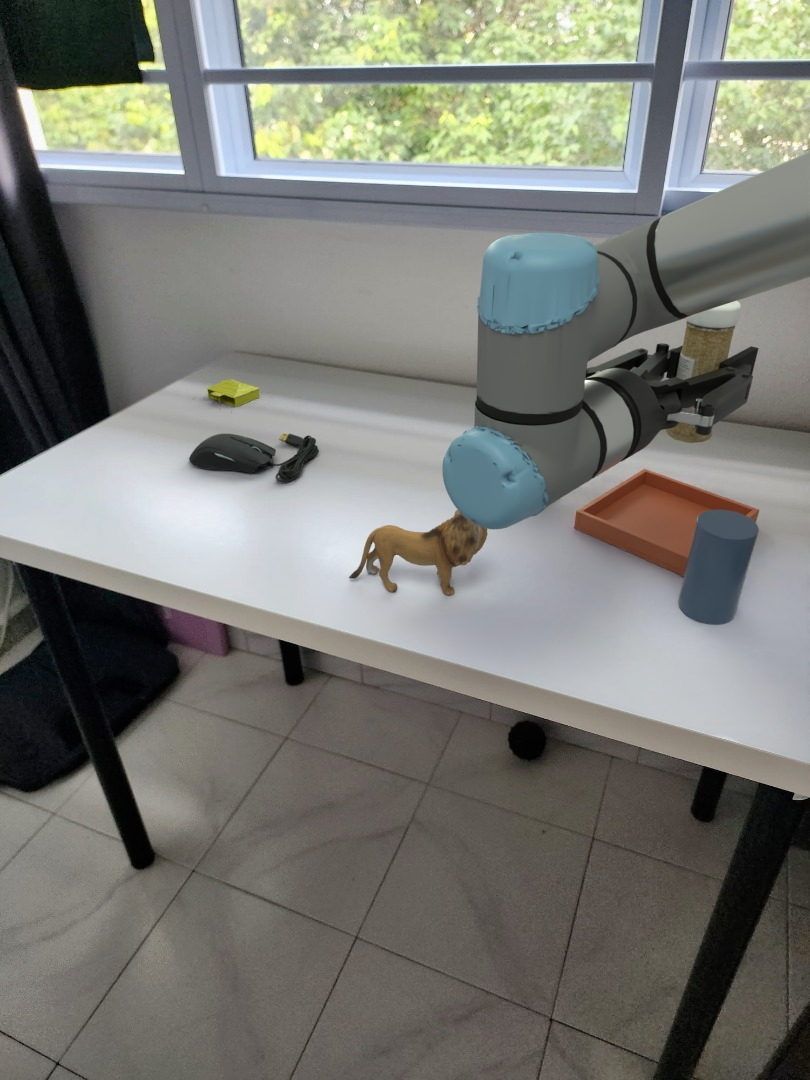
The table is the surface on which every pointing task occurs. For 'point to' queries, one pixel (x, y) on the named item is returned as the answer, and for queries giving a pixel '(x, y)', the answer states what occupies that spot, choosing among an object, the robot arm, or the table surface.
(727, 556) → the blue can
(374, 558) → the lion figurine
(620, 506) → the tray
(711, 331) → the spice jar
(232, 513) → the table surface
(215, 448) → the computer mouse
